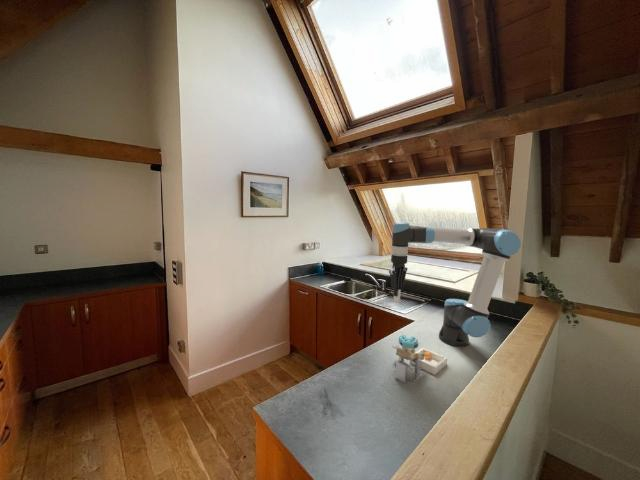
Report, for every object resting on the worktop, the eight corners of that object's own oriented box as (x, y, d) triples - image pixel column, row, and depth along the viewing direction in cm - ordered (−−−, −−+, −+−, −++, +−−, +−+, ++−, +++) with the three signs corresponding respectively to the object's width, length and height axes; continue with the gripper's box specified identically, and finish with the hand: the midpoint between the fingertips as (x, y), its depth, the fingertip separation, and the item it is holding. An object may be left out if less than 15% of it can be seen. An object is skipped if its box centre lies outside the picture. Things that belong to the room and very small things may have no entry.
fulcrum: (403, 365, 121) (404, 348, 120) (423, 375, 114) (424, 357, 113) (389, 375, 114) (390, 356, 113) (410, 386, 107) (411, 366, 106)
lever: (396, 347, 127) (398, 342, 128) (423, 359, 117) (424, 353, 118) (380, 346, 118) (381, 341, 118) (407, 360, 108) (409, 353, 108)
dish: (422, 354, 131) (422, 347, 131) (446, 365, 123) (447, 357, 122) (409, 363, 124) (410, 355, 123) (435, 375, 115) (435, 367, 114)
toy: (417, 334, 146) (418, 343, 132) (417, 343, 146) (417, 353, 132) (399, 331, 149) (398, 340, 135) (399, 340, 149) (397, 349, 135)
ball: (422, 354, 126) (423, 358, 128) (428, 357, 124) (430, 361, 125) (425, 349, 128) (426, 353, 129) (431, 352, 125) (433, 356, 127)
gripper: (399, 252, 134) (397, 297, 136) (384, 254, 125) (382, 302, 128) (413, 254, 128) (410, 301, 131) (398, 257, 120) (395, 307, 122)
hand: (396, 301), depth 129 cm, fingers closed
